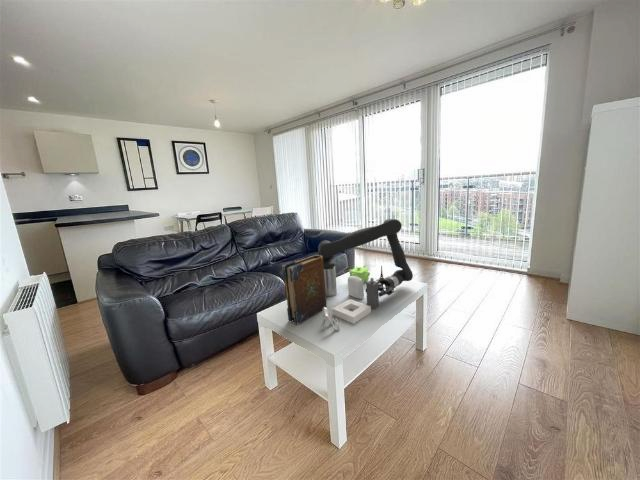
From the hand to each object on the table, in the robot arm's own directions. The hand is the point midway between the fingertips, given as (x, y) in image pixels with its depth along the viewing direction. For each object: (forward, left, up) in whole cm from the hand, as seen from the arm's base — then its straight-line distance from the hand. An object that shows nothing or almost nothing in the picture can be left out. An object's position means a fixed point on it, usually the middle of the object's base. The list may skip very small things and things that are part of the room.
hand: (372, 292), depth 137 cm
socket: (-10, -9, -8) cm, 16 cm away
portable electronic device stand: (-18, -23, -8) cm, 31 cm away
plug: (0, 0, -8) cm, 8 cm away
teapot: (-12, +34, -8) cm, 37 cm away
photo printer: (-11, +12, -8) cm, 18 cm away
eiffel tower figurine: (+3, +35, -9) cm, 36 cm away
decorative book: (-32, -13, -8) cm, 36 cm away
